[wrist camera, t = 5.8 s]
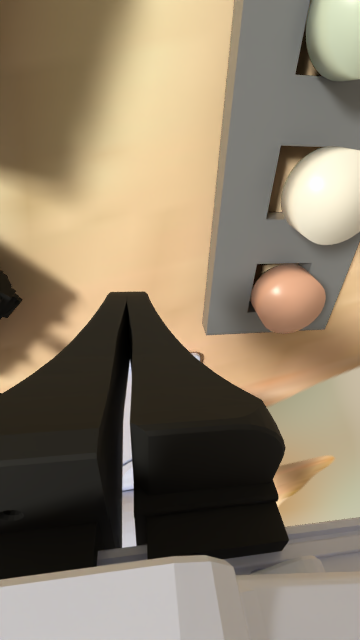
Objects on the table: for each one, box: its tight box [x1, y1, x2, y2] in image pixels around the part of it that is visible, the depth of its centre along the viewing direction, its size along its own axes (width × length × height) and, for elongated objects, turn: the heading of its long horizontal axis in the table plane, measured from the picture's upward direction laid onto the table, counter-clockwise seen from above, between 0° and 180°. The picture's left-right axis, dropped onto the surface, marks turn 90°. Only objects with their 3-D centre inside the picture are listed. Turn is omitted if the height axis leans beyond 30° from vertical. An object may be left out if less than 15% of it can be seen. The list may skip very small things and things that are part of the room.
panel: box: [202, 0, 360, 335], centre depth 18 cm, size 22×10×2 cm, turn 178°
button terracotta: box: [251, 264, 326, 334], centre depth 21 cm, size 4×4×4 cm
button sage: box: [306, 0, 360, 81], centre depth 13 cm, size 4×4×4 cm
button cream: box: [281, 146, 360, 245], centre depth 16 cm, size 4×4×4 cm
